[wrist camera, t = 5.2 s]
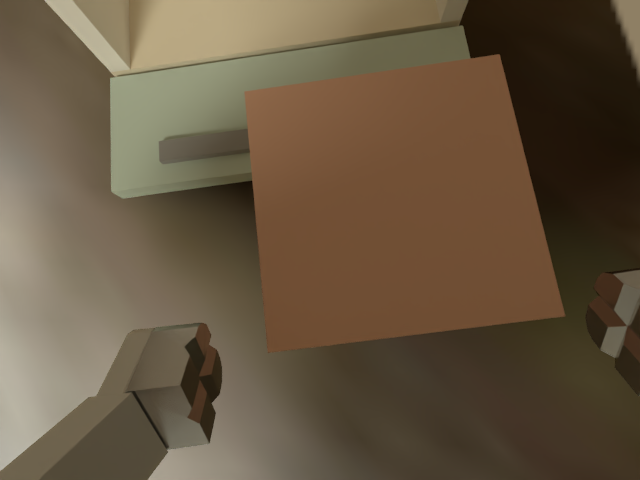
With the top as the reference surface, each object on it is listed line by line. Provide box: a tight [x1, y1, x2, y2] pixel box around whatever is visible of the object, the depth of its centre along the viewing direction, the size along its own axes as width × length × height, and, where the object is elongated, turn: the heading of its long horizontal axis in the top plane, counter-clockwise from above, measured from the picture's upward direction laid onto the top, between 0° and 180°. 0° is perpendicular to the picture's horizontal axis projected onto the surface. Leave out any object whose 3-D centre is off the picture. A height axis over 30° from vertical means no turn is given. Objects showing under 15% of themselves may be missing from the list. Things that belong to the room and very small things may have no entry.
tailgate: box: [110, 25, 470, 198], centre depth 15 cm, size 14×1×5 cm
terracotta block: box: [244, 54, 565, 353], centre depth 11 cm, size 4×4×9 cm
